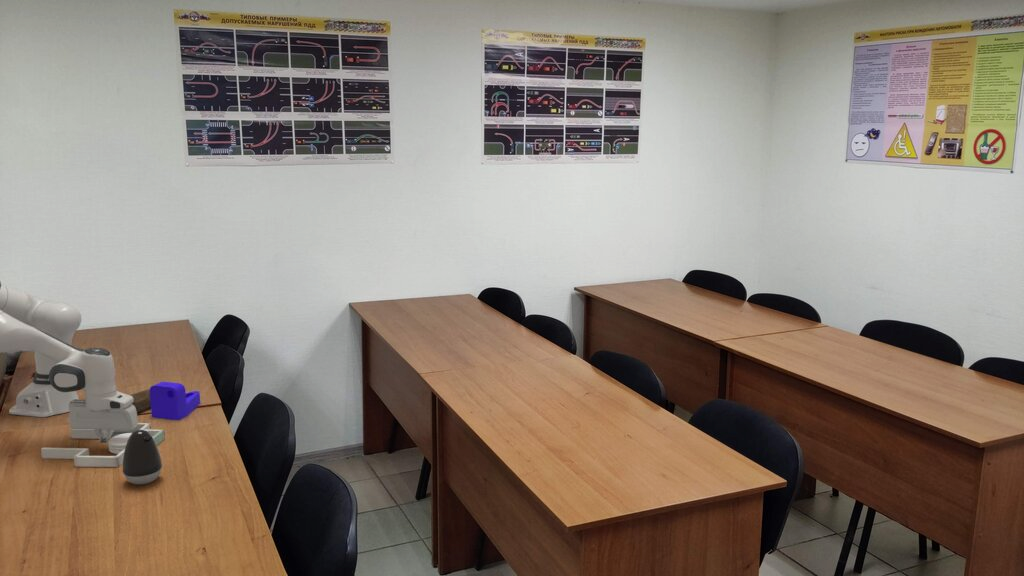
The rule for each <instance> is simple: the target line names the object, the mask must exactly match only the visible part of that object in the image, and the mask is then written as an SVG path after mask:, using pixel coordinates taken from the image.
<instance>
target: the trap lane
mask: <svg viewBox="0 0 1024 576" xmlns="http://www.w3.org/2000/svg"><path fill="white" fill-rule="evenodd" d="M137 430H145V431H147V432H148V433H149V434H150V435H151V436H152V438H153V439H154V441H155V443H156V445H157V446H158V445H159V444H161V442H162V441H164V440H165V439H166V436H165V435H166V434H165V429H152V423H150V422H149V423H147V422H138V425H137V426H136V427H135V428H134V429H132V430H114V431H113V433H112V435H111V438H112V437H114V436H116V435H120V434H125V433H133V432H135V431H137ZM101 432H102V433H103V435H104V436H107V434H108V433H106V430H102V431H101ZM70 436H71V437H70V438H71V439H89V440H92V439H95V440H99V438H98V436H97V435H96V434H95V430H92V429H72V428H71V429H70ZM89 449H90V448H84V447H83V448H82V447H81V448H80V447H79V448H78V447H68V448H67V447H41V448H40V452H41V459H55V460H56V459H59V460H60V459H62V460H63V459H64V460H65V459H66V460H70V459H71V460H73V465H74V467H77V468H78V467H81V468H82V467H85V468H87V467H88V468H90V467H92V468H93V467H94V468H96V467H97V468H119V467H120V466H121V465H123V456H124V451H125V449H124V450H123V451H121V452H120V453H119V454H115V455H90V450H89Z"/></svg>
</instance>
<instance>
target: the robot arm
mask: <svg viewBox="0 0 1024 576" xmlns="http://www.w3.org/2000/svg"><path fill="white" fill-rule="evenodd" d="M81 323H82V314H81V313H80V310H78V309H77V308H76V307H74V306H72V305H70V304H68V303H65V302H59V301H52V300H47V299H42V298H39V297H37V296H36V297H35V296H33V295H30V294H29V293H27V292H25V291H23V290H19V289H17V288H13V287H10V286H7V285H4V284H2V283H1V281H0V353H1V354H4V353H5V354H7V353H14V352H15V353H16V352H34V361H35V369H36V370H35V371H34V372H33V373H31V374H30V375H29V379H32V382H30V383H29V384H28V385H27V386H26V387H25V388H23V389H22V390H20V392H19V393H18V394H17V396H16V400H15V405H13V406H11V408H9V411H8V414H10V415H18V416H27V417H36V418H37V417H38V418H46V417H51V416H54V415H60V414H65V413H68V425H69V428H71V429H92V430H95V434H96V435H97V436H98V438H99V439H98V441H99V443H101V444H103V443H105V444H108V441H109V440H110V439H111V435H112V433H113V431H114V430H132V429H134V428H135V427H136V426H137V425H138V423H139V419H138V418H139V417H138V412H137V411H136V408H135V406H134V405H133V404H132V403H133V401H134V398H133V397H132V396H130V395H131V394H127V393H123V392H121V391H118V390H117V386H116V383H115V382H116V381H115V379H116V370H115V363H114V357H113V356H112V353H111V352H110V350H108V349H106V348H102V347H89V348H86V349H82V348H78V347H75V346H73V345H72V340H73V336H74V334H75V332H76V331H77V330H78V329H79V328H80V326H81ZM81 390H82V391H83V392H84V399H80V398H79V395H78V392H77V391H81ZM102 430H106V433H108V434H107V436H104V435H103V433H102V432H101V431H102Z"/></svg>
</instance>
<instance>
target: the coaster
mask: <svg viewBox="0 0 1024 576" xmlns="http://www.w3.org/2000/svg"><path fill="white" fill-rule="evenodd" d="M131 434H132V433H125V434H120V435H116V436H114V437H112V438H111V439H110V440H109V441H108V443H107V444H108V451H109V452H110V453H112V454H113V455H118V454H119V453H120V452H121V451H123V450H124V449H125V447H126V444H127V441H128V439H129V437H130V435H131Z"/></svg>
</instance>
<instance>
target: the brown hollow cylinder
mask: <svg viewBox="0 0 1024 576" xmlns="http://www.w3.org/2000/svg"><path fill="white" fill-rule="evenodd" d="M129 395H130V396H132V397H133V398H134V401H133V403H132V404H133V405H134V406H135V408H136V411H137V413H140V412H142V411H145V410H147V409H151V402H150V388H148V389H145V390H142V391H138V392H136V393H132V394H129Z"/></svg>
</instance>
